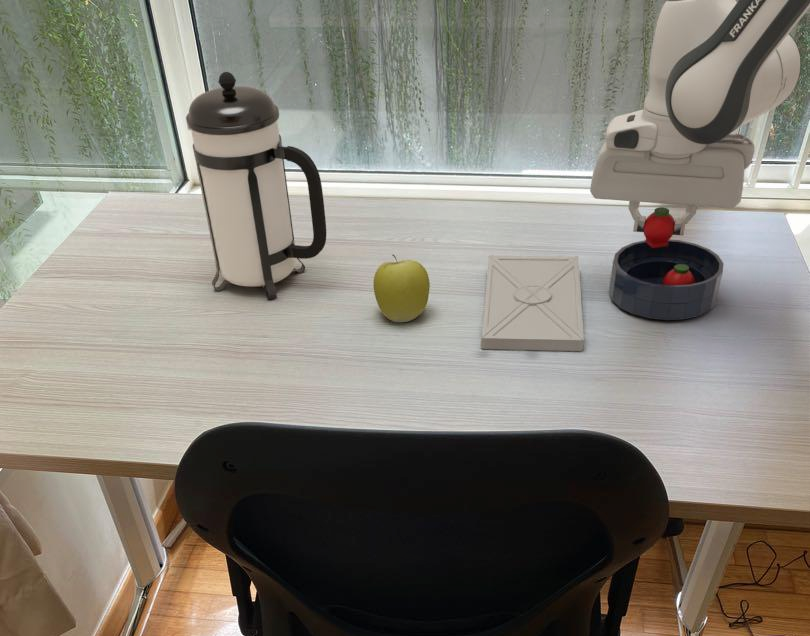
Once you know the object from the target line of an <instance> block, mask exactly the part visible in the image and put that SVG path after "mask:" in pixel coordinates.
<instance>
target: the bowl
mask: <svg viewBox="0 0 810 636" xmlns="http://www.w3.org/2000/svg"><path fill="white" fill-rule="evenodd" d="M645 240H646V239H643V240H639V241H635V242H631V243H629V244H627V245H624V246H622V247H621V248H620V249H619V250H618V251H616V252H615V253H614V257H613V260H612V267H611V276H610V282H609V290H608V294H609V296H610V298H611V301H612V302H614V303H615V304H616V305H617V306H618V307H619V308H620V309H622V310H624V311H626V312H628V313H631V314H632V315H636V316H639V317H642V318H646V319H652V320H663V321H675V320H687V319H692V318H696V317H699V316H702V315H704V314H706V313H707V312H710V311H711V310H712V308H714V306H715V305H716V304H717V301H718V295H719V291H720V287H721V282H722V277H723V273H724V265H725V264H724V262H723V260H722V258H721V257H720V255H719V254H717V253H716V252H714V251H713V250H711V249H710V248H709V247H705V246H702V245H700V244H698V243H694V242H689V241H685V240H680V239H671V238H670V239H669V240H668V246H663V247H657V248H652V247H651V246H650V245H649V244H648V243H647V242H646V241H645ZM678 264H684V265H687V266H688V267H689V271H690V272H691V273H692V274H693V276H694V279H695V283H694V284H690V285H663V280H664V277H665V276H666V274H667V273H668V272H669V271H671V270H672V269H674V266H675V265H678Z"/></svg>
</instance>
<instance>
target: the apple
mask: <svg viewBox="0 0 810 636" xmlns="http://www.w3.org/2000/svg"><path fill="white" fill-rule="evenodd" d="M392 256H393V257H394V259H395V260H396V261H385V262H383V263H382V264H380V265H379V266H378V268H376V271H375V273H374V277H373V293H374V297H375V300H376V304H377V306H378V308H379V311H380V312H381V314H382V315H384V317H386V318H387V319H388V320H390V321H392V322H393V323H406V322H407V323H408V322H410V321H413V320H414V319H416V318H417V317H418V316H420V315H421V314H422V313H423V312H424V311H425V309H426V307H427V305H428V302H429V295H430V287H431V286H430V284H431V283H430V282H431V281H430V278H429V273H428V272H427V269H426V268H425V267H424V266H423V265H422V263H420V262H419V261H417V260H414V259H407V260H400V261H397V257H396V255H394V254H392Z"/></svg>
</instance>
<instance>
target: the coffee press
mask: <svg viewBox="0 0 810 636" xmlns="http://www.w3.org/2000/svg"><path fill="white" fill-rule="evenodd" d="M236 82H237V79H236V78H235V75H233V74H232V73H231V72H229V71H224V72H222V73H220V75H219V77H218V84H219V86H220V87H218V88H217V87H216V88H213V89H211V90H210V89H209V90H208V91H204V92H203V93H201V94H199V95H197V96H196V97H195V98H194V99H193V101H192V102H191V103H190V105H189V108H188V113H187V114H186V116H185V121H186V125H187V126H186V127H187V130H188V131H190V132H191V137H192V142H193V143H192V150H193V156H194V160H195V163H196V164H195V165H196V171H197V175H198V180H199V187H200V191H201V195H202V196H201V197H202V200H203V201H202V202H203V206H204V212H205V214H206V215H205V216H206V221H207V226H208V231H209V237H210V241H211V247H212V251H213V256H214V262H215V268H216V269H215V271H216V272H215V274H214V277H213V279H212V281H211V285H212V287H213V289H214V290H215V291H216V292H221V291H222V290H224V289H225V287H226V286H227V285H228V284H229V283H231V284H233V285H237V286H240V287H241V286H242V287H249V288H250V287H253V288H254V287H263V290H264V293H265V296H266V299H267V300H272V299H276V298H278V293H277V290H276V286H275V283H278V282H280V281H282V280H284V279H285V278H286V277H288V276H290V274H292V272H293V271H295V272H297V273H298V274H302V273H303V272H305V271H306V266H305V264H304V263H303V262H302V260H303V259H306V260H307V259H312V258H315V257H317V256H318V255H319V254H320V253H321V252H322V251H323V249H324V248H325V246H326V242H327V221H326V210H325V201H324V192H323V187H322V186H323V185H322V180H321V175H320V173H319V170H318V168H317V165H316V163H315V162H314V160H313V159H312V158H311V156H310V155H308V153H306V152H305V151H303V150H302V149H300V148H298V147H295V146H291V145H287V146H283V142H282V141H283V140H282V136H281V134H280V131H279V122H278V121H279V118H280V109H279V107H278V105H276V104H275V103H274V101H273V99H272V97H271V96H270V95H269V94H268V93H266V92H265V91H263V90H261V89H259V88H256V87H251V86H242V85H236ZM285 160H286V161H287V162H291V163H294V164H295V165H297V166H298V167H299V169H301V171H302V172H303V174H304V176H305V180H306V183H307V188H308V199H309V205H310V206H309V207H310V216H311V223H312V224H311V225H312V232H313V236H312V242H311V243H310V245H299V244H297V245H296V243H295V236H294V228H293V221H292V220H293V219H292V214H291V205H290V198H289V197H290V196H289V190H288V189H289V188H288V183H287V175H286V174H287V173H286V166H285ZM296 260H298V262H299V263H300V264H301V265H300V267H299V268H296ZM220 275H221V277H222V278H223V281H222V282H221V284H219V286H216V284H217V282H218V280H219V278H220Z"/></svg>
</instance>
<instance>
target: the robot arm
mask: <svg viewBox="0 0 810 636" xmlns="http://www.w3.org/2000/svg"><path fill="white" fill-rule="evenodd" d="M809 9H810V0H666V1H665V2H664V4H663V5H662V8H661V9H660V13H659V15H658V19H657V22H656V27H655V31H654V35H653V39H652V46H651V51H650V59H649V64H648V65H649V66H648V74H649V86H648V87H649V88H648V90H647V91H648V92H647V94H646V96H645V98H644V103H643V108H642V109H640V110H636V111H633V112H629V113H625V114H621V115H618V116H614V117H613V118H612V120H611V121H610V122H609V124H608V125H607V128H606V133H605V140H604V142H603V143H602V145H601V147H600V149H599V152H598V155H597V157H596V160H595V164H594V168H593V173H592V176H591V181H590V188H589V192H590V194H591V196H592V197H593V198H594V199H596V200H608V201H620V202H621V201H622V202H623V201H624V202H628V211H629V213H630V216H631V217H632V219H633V221H634V222H633V230H632V231H633V232H634V233H644V226H645V220H646V219H647V215H641V212H640V210H639V207H640V204H641V203H649V204H663V205H676V206H677V205H678V206H686V207H685V213H684V215H683V216H682V217H681V218H674V221H675V225H674V231H673V235H672V236H682V237H683V236H685V235H684V234H685V228H686V225H687V224H688V223H689V222H690V221H691V220H692V219H693V218H694V216H695V215H696V213H697V209H698V207H703V208H716V209H717V208H718V209H729V210H730V209H732V210H733V209H735V208H736V207H737V206H738V205H739V204H740V203H741V201H742V196H743V190H744V180H745V170H746V169H747V168H749V166H750V165H751V164H752V162H753V158H754V154H755V144H754V142H753V140H751V138H749V137H746V134H743V133H738V132H737V133H733V132H735V131H736V130H738V129H739V128H741V127H743V126H745V125H746V124H749V123H750V122H752V121H754V120H756V119H758V118H759V117H761V116H763V115H765V114H766V113H768V112H771V111H772V110H774V109H775V108H777V107H779V106H780V105H782V104H783V103H784V102H785V101H786V100H788V99H789V97H790V96H792V94H793V92H794V91H795V89H796V87H797V85H798V84H799V83H798V82H799V80H800V77H801V71H802V56H801V51H800V48H799V46H798V43H797V42H796V39H794V37H793V36H792V35H791V34H790V33H791V31H792V30H794V28H795V27H796V25H798V23H799V22H800V20H801V19H802V18H803V17H804V15H805V14H806V13H807V11H808V10H809Z"/></svg>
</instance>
